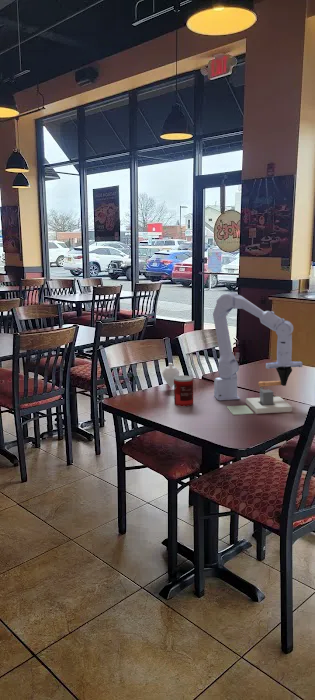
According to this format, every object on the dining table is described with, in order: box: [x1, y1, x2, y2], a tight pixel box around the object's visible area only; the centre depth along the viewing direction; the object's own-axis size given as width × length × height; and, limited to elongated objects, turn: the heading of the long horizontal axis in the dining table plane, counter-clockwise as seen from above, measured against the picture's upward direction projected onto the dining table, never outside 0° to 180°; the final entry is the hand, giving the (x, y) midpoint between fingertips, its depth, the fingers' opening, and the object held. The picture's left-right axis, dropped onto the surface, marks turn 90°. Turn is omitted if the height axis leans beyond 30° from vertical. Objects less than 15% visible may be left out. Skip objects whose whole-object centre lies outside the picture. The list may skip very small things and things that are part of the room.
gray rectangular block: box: [259, 389, 274, 406], centre depth 202 cm, size 4×4×7 cm
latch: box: [258, 380, 282, 388], centre depth 208 cm, size 11×2×2 cm, turn 98°
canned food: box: [173, 375, 194, 407], centre depth 210 cm, size 8×8×11 cm
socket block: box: [245, 386, 293, 415], centre depth 203 cm, size 14×14×7 cm
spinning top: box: [162, 362, 180, 390], centre depth 232 cm, size 8×8×12 cm
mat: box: [226, 405, 255, 416], centre depth 200 cm, size 8×10×1 cm
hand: (283, 385), depth 206 cm, fingers closed, pressing on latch
